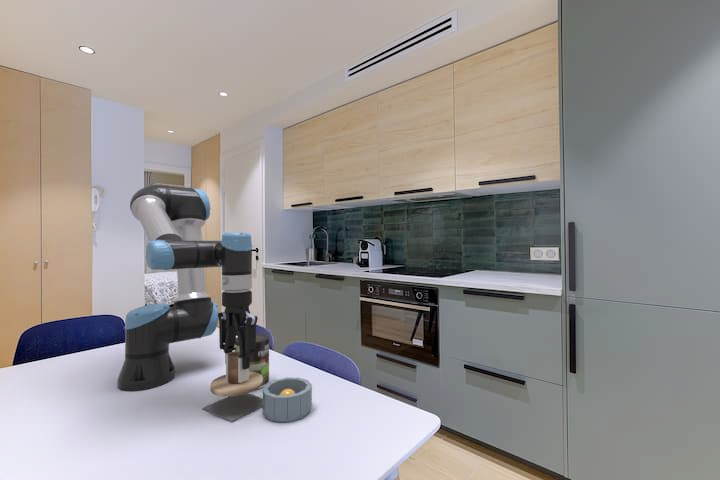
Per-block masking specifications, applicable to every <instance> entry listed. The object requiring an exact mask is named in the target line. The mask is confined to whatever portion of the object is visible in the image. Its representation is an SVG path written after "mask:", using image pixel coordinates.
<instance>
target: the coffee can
mask: <svg viewBox="0 0 720 480" xmlns="http://www.w3.org/2000/svg"><path fill="white" fill-rule="evenodd" d="M235 348H237V349H236V350H234V351H236V352H240V348H239V341H238V336H236V340H235ZM249 372H256V373H259V374H261V375H262V377H263V384H262V385H261V386H260V387H259V388H258V389H256V390H257V391H258V390H260V389H263V388H264V387H265V385H266V384H267V383H270V335H268V334H265V333H256V353H255V354H252V355H250V367H249ZM256 390H255V391H256Z"/></svg>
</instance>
